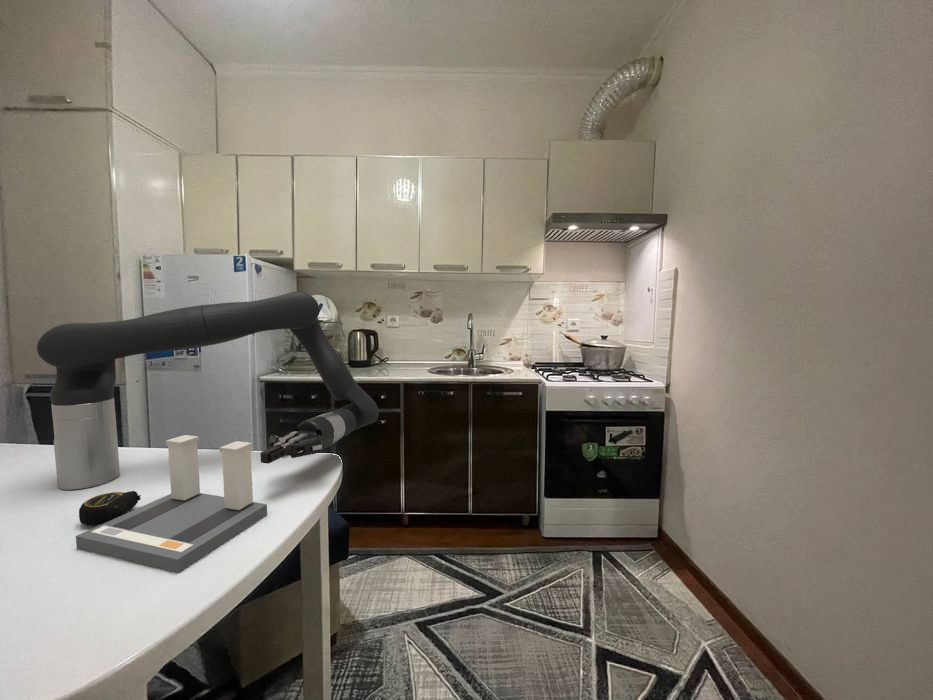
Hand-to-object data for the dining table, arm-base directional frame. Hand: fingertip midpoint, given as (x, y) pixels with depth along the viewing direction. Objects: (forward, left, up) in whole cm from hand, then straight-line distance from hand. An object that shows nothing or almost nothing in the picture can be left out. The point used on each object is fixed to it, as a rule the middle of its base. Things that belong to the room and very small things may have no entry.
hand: (263, 458), depth 72 cm
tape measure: (-21, -12, -9) cm, 26 cm away
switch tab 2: (0, -6, -6) cm, 9 cm away
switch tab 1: (-12, -6, -6) cm, 15 cm away
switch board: (-6, -12, -8) cm, 16 cm away
